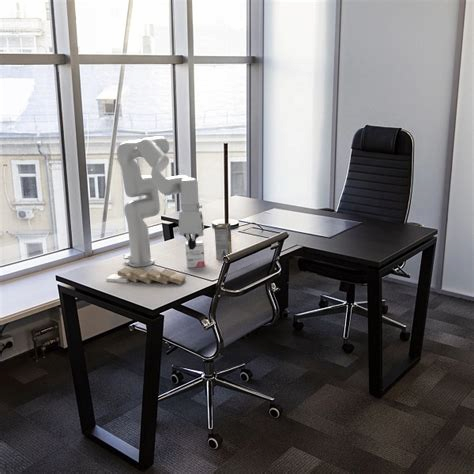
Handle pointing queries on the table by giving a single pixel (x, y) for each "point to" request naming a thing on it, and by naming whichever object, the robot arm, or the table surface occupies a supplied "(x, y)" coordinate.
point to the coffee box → (223, 240)
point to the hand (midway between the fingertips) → (192, 248)
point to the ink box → (195, 255)
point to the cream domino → (116, 278)
